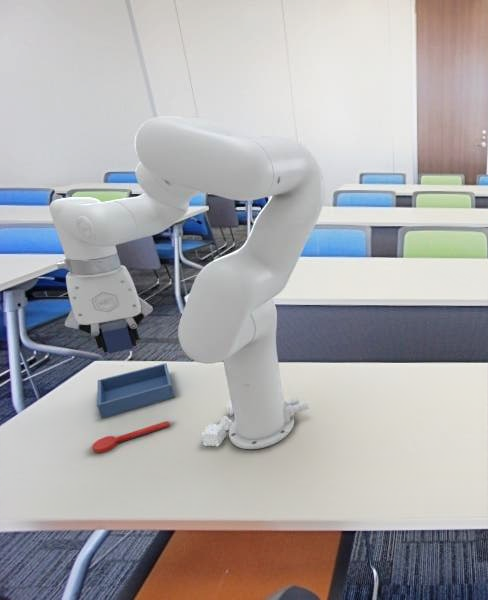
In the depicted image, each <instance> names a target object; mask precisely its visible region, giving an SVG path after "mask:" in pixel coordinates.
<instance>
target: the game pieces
mask: <svg viewBox="0 0 488 600" xmlns="http://www.w3.org/2000/svg"><path fill="white" fill-rule="evenodd" d="M224 407H225V410H226V413H228V414H229V416H230V417H232V416H233V415H234V413H233V408H232V403H231V400H228V403H227V404H226V405H224ZM233 422H234V421H232V420H231V419H230V418H229V417H228V416H227V415H223V416H222V417H221V419H220V422H219V423H217V424H216V423H209V424H207V425H206V427H205V429H203V431H202V432H201V434H200V437H201V439H202V445H203V446H205V447H211V446H212V447H220V446H221V444H222V443H223V441H224V440H225V439H226V437H227V433H226V431H229V428H230V426H231V424H232V423H233Z"/></svg>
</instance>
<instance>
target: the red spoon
mask: <svg viewBox="0 0 488 600" xmlns="http://www.w3.org/2000/svg"><path fill="white" fill-rule="evenodd" d="M169 426H170V422H169V421H163V422H159V423H157V424H153V425H150V426H147V427H144V428H141V429H137V430H134V431H131V432H128V433H125V434H122V435H119V436H113V435H109V436H104V437H101V438H99V439H97V440H96V441H95V442H94V443H93V444H92V446H91V447H92V450H93V452H94V453H95V454H101V453H103V454H104V453H107V452H109V451H111V450H113V449H114V448H116V446H117V444H120V443H123V442H125V441H128V440H129V441H130V440H131V439H135V438H138V437H140V436H144V435H146V434H150V433H152V432H156V431H159V430H162V429H165V428H168V427H169Z"/></svg>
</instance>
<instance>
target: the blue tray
mask: <svg viewBox="0 0 488 600" xmlns="http://www.w3.org/2000/svg"><path fill="white" fill-rule="evenodd" d="M96 395H97V396H96V399H97V400H96V406H97V408H98V409H97V410H98V412H99V415H100V417H101V419H105V418H109V417H112V416H116V415H119V414H122V413H125V412H129V411H133V410H136V409H140V408H142V407H146V406H149V405H152V404H156V403H159V402H163V401H166V400H170V399H173V398H176V396H175V391H174V388H173V383H172V379H171V375H170V371H169V368H168V364H167V362H165V363H161V364H157V365H153V366H149V367H145V368H141V369H137V370H133V371H129V372H125V373H121V374H118V375H113V376H109V377H105V378H101V379H98V380H97V394H96Z"/></svg>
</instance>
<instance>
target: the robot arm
mask: <svg viewBox="0 0 488 600" xmlns="http://www.w3.org/2000/svg"><path fill="white" fill-rule="evenodd" d="M134 149H135V152H136V153H135V154H136V156H137V158H138V160H139V162H138V164H137V165H136V168H135V178H136V181H137V183H138V185H139V187H140V188H141V190H142V191H144V192H143V193H142V194H139V195H138V196H133V197H132V196H131V197H125V198H119V199H112V200H107V201H101V200H99V199H97V198H94V197H89V196H87V197H86V196H76V197H75V196H74V197H73V196H72V197H62V198H58V199H54V200H53V201H51V202H50V204H49V213H50V216H51V219H52V221H53V224H54V228H55V231H56V233H57V236H58V239H59V242H60V245H61V248H62V251H63V253H64V257H65V258H64V259H63V260H61V261H56V267H57V269H58V270H63V269H64V270H67V271H69V272H67V274H66V275H65V283H66V289H67V295H68V299H69V303H70V307H71V309H70V312H69V314H68V316H67V317H66V319H65V321H64V326H65V327H67V328H69V329H70V328H72V329H75V330H80V331H82V332H85V333H87V334H90V335H91V336H92V337H94V339H95V343H96V346H97V348H98V349H102V350H103V353H104V354H105V353H108V350H107V347H106V344H105V341H104V338H103V335H102V327H100V324H101V323H107V322H108V323H109V322H113V321H119V320H123V319H125V320H126V322H127V325H128V332H129V335H130V339H131V342H132V346H133V347H137V346H138V345H137V344H138V343H137V341H140V336H139V332H138V329H137V328H138V325H139V324H140V323H141V322H142V321H143V320H144V318H146V317H147V316H148V315H149V314H151V313H152V312H153V311H154V307H153V306H152V305H151V304H149V303H148V302H147V301H146V300H144V299H142V298H141V297H140V296H139V294H138V291H137V288H136V286H135V282H134V280H133V278H132V276H131V274H130V272H129V270H128V269H127V267H126V266H125V265H124V264H121V260H120V257H119V253H118V250H117V245H122V244H125V243H129V242H132V241H135V240H136V241H137V240H139V239H144V238H147V237H152V236H155V235H158V234H161V233H162V232H164V231H165V230H167V229H169V228H170V227H172V226H173V225H175V223H178V222H179V221H180V220H181V219H183V218H184V217H185V216H186V215H187V213H188V210H189V208H190V201H191V200H192V199H193V198H195V197H196V196H197V195H199V194H201V192H203V193H206V194H209V195H212V196H216V197H221V198H224V199H228V200H232V201H240V202H245V201H246V202H247V201H256V200H261V199H265V198H268V197H269V199H268V201H267V202H266V204H265V205H264V206H263V207H262V209H261V210H260V212H259V213H258V214H257V216H256V218H255V220H254V222H253V225H252V228H251V230H250V232H249V235H248V236H247V239H246V240H245V242H244V244H243V245H242V246H241V247H239V248H238V249H237V250H234V251H232V252H231V253H228V254H226V255H223V256H220V257H218V258H215V259H214V260H212V261H210V262H209V263H207V264H206V265H205V266H203V268H202V269H201V270H200V271H199V272H198V274H197V275H196V276H195V278H194V281H193V283H192V286H191V289H190V291H189V294H188V297H187V299H186V303H185V305H184V308H183V311H182V313H181V316H180V319H179V323H178V329H177V336H178V342H179V345H180V346H181V349H182V351H183V352H184V353H185V355H186V356H187V357H188V358H190V359H191V360H193V361H195V362H197V363H200V364H207V365H210V364H212V365H213V364H217V363H220V362H223V368H224V373H225V378H226V384H227V387H228V392H229V397H230V401H231V403H232V408H233V413H234V414H233V417H234V421H232V422H233V423H232V424H231V426H230V428H229V430H228V437H229V441H230V443H232V445H234V446H235V447H237V448H240V449H243V450H257V449H259V450H260V449H263V448H267V447H270V446H273V445H275V444H277V443H278V442H280V441H282V440H283V439H285V438H286V437H287V436H288V435H289V434H290V433H291V432H292V430H293V429H294V425H295V417H294V416H295V414H297V413H302V412H303V411H306V410H308V409H309V404H308V402H307V400H303V401H301V402H299V399H298V398H297V397H295V398H293V399H290V400H288V401H287V400H284V394H283V386H282V379H281V372H280V366H279V357H278V348H277V326H278V311H277V306H276V304H275V301H274V299H273V298H275V297H276V296H277V295H279V294H281V292H282V291H283V290H284V289H286V287H287V284H288V282H289V280H290V278H291V276H292V274H293V272H294V270H295V268H296V265H297V263H298V262H299V259H300V258H301V255H302V253H303V251H304V248H305V246H306V244H307V242H308V240H309V238H310V236H311V234H312V232H313V230H314V228H315V227H316V224H317V222H318V219H319V217H320V215H321V212H322V210H323V206H324V202H325V201H324V200H325V192H326V191H325V180H324V175H323V173H322V169H321V167H320V164H319V162H318V161H317V159H316V157H315V156H314V154H313V153H312V152H311V151H310V150H309V149H308V148H307V147H306V146H305V145H303V144H302V143H300V142H298V141H296V140H294V139H291V138H287V137H282V136H235V134H234V133H233V132H232V131H231V130H230V129H229V128H228V127H227V126H225V125H224V124H223V123H220V122H218V121H216V120H214V119H210V118H205V117H195V116H194V117H193V116H192V117H191V116H174V115H173V116H172V115H160V116H155V117H152V118H149V119H147V120H145V121H144V122H143V123H142V124H141V125H140V127H139V128H138V129H137V131H136V133H135V137H134Z"/></svg>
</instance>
